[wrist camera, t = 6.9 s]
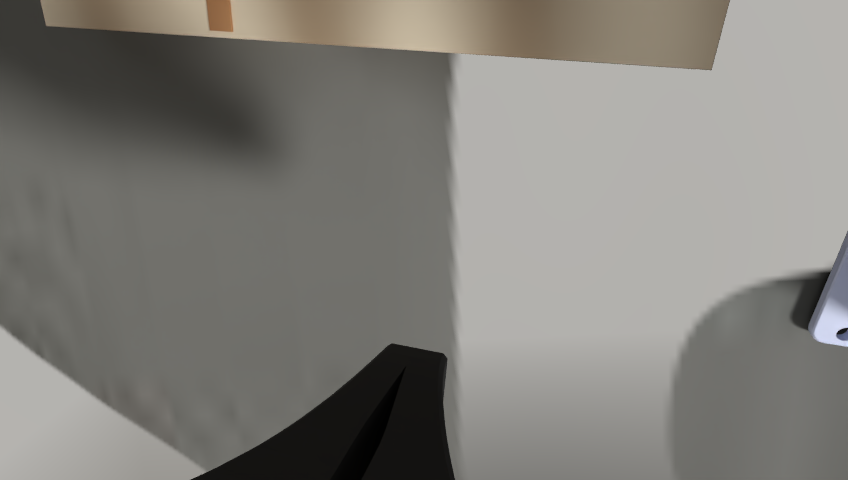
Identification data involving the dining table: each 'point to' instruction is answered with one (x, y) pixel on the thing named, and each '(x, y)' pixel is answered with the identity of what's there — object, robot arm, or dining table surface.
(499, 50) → the board
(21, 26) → the dining table surface
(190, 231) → the dining table surface
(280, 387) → the dining table surface
